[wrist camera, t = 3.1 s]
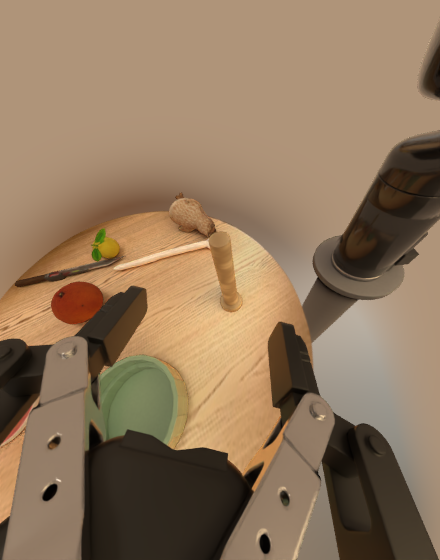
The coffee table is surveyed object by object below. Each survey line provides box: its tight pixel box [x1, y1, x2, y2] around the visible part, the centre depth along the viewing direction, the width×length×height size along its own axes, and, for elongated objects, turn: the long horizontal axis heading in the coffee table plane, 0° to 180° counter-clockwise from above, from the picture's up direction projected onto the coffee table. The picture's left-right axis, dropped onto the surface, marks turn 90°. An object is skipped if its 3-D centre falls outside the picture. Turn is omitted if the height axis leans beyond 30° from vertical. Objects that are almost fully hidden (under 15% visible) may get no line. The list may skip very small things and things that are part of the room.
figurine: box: [169, 193, 216, 237], centre depth 49 cm, size 9×10×15 cm
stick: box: [208, 232, 242, 312], centre depth 31 cm, size 4×4×18 cm
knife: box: [15, 256, 124, 287], centre depth 49 cm, size 3×2×30 cm
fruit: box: [51, 282, 103, 324], centre depth 39 cm, size 9×9×8 cm
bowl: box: [100, 355, 188, 449], centre depth 27 cm, size 14×14×6 cm
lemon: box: [92, 228, 120, 262], centre depth 47 cm, size 7×6×10 cm
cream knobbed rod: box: [114, 238, 210, 270], centre depth 46 cm, size 28×4×3 cm, turn 104°
